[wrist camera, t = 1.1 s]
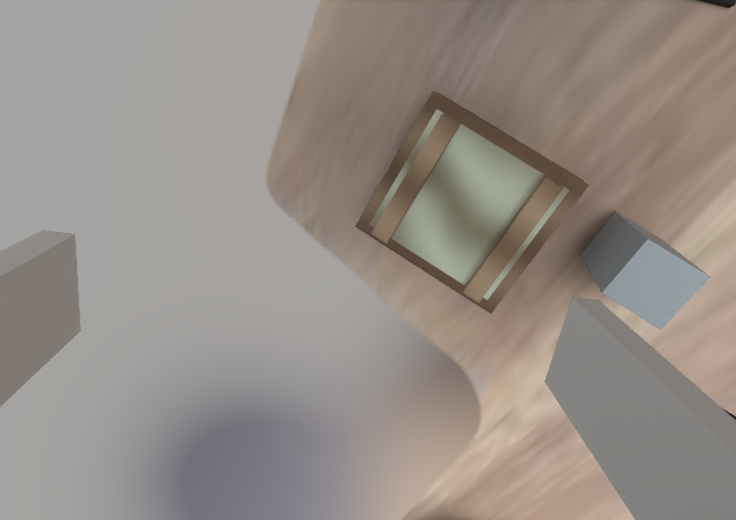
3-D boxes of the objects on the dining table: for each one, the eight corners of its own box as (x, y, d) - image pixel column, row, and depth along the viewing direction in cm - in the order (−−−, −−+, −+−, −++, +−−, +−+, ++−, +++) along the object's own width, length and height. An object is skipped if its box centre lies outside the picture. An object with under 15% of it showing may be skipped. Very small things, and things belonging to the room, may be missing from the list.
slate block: (615, 211, 40) (648, 238, 31) (662, 240, 40) (710, 277, 31) (580, 254, 42) (602, 292, 33) (625, 282, 42) (660, 329, 32)
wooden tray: (439, 93, 41) (429, 89, 36) (581, 179, 40) (593, 189, 35) (366, 218, 46) (348, 232, 41) (492, 299, 45) (490, 323, 40)
